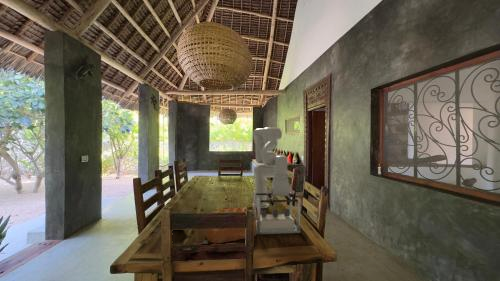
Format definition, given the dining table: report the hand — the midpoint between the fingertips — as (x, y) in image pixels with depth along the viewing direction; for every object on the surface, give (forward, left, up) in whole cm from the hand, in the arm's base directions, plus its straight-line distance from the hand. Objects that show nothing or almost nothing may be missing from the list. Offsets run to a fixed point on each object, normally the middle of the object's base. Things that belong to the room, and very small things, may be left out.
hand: (280, 205), depth 136 cm
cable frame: (0, -3, -13) cm, 14 cm away
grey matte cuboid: (0, +4, -7) cm, 8 cm away
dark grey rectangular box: (0, -3, -7) cm, 7 cm away
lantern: (+8, -53, -14) cm, 55 cm away
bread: (+9, -29, -14) cm, 34 cm away
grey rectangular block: (0, -10, -7) cm, 12 cm away
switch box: (0, -3, -13) cm, 14 cm away
